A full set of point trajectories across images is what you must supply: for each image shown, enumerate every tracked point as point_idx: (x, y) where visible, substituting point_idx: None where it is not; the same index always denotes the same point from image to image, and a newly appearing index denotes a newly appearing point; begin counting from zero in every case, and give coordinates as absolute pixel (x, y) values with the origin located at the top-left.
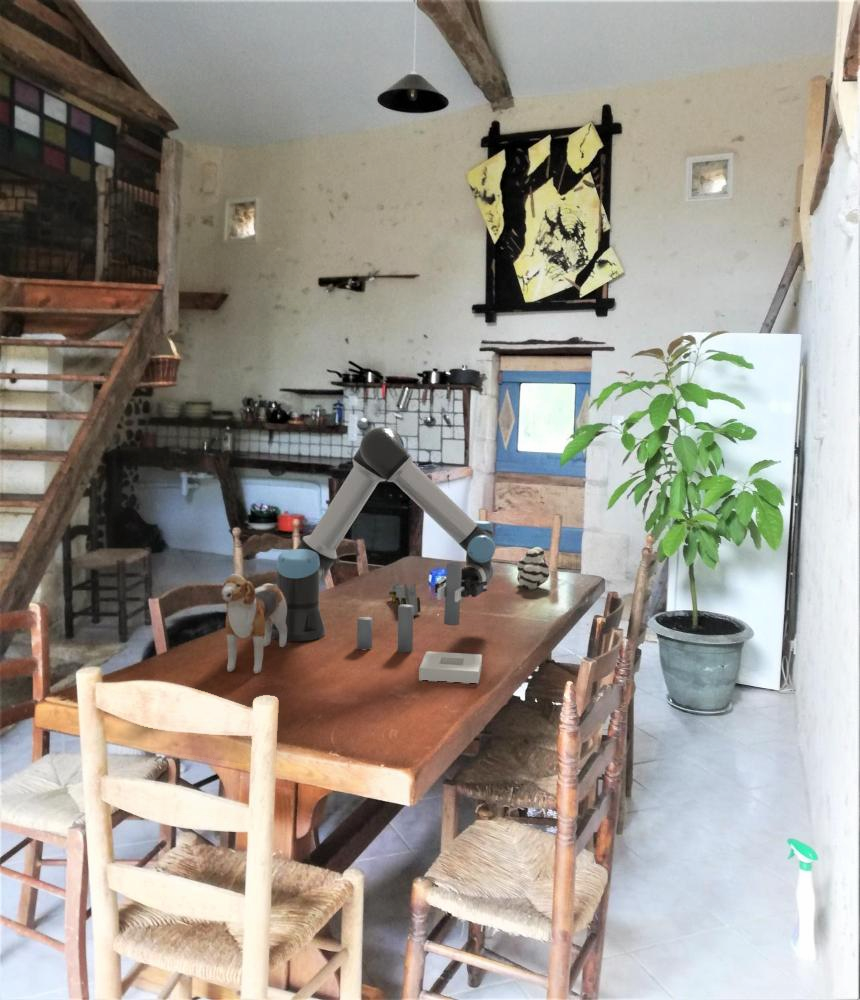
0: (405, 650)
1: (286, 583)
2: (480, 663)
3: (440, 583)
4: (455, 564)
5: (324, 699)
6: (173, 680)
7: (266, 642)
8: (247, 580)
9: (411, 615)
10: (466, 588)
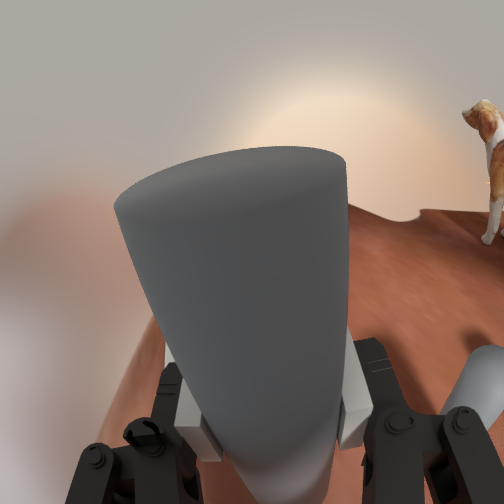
0: None
1: None
2: (165, 358)
3: (455, 463)
4: (202, 162)
5: (357, 230)
6: (501, 212)
7: None
8: (483, 109)
9: (454, 391)
10: (159, 434)
